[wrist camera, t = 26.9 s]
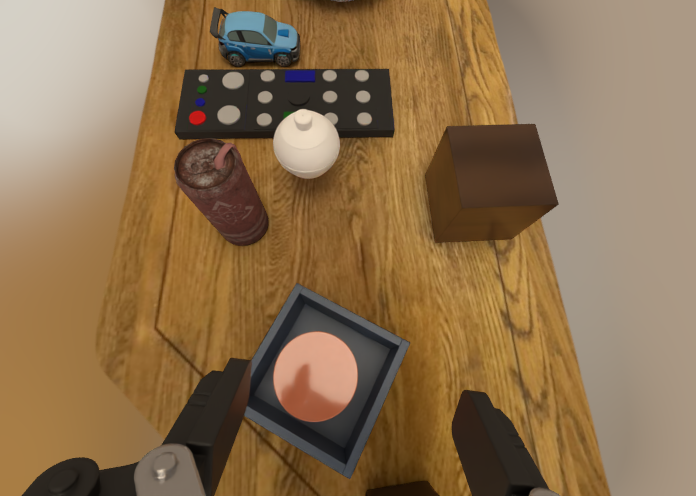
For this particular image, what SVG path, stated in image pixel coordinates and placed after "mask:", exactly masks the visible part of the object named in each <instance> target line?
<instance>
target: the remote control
mask: <svg viewBox="0 0 696 496" xmlns="http://www.w3.org/2000/svg"><path fill="white" fill-rule="evenodd" d="M300 109H306V110H309V111H313V112H316V113H319V114H321V115H323V116H324V117H326V118H327V119H328V120H329V121H330V122H331V123H332V124H333V125H334V127H335V128H336V130H337V133H338V136H339V137H393V135H394V130H395V129H394V118H393V108H392V97H391V86H390V76H389V69H249V70H185V73H184V79H183V85H182V91H181V97H180V103H179V109H178V115H177V120H176V126H175V134H176V135H177V136H178V138H179V139H208V138H213V139H230V138H274V134H275V132H276V129H277V127H278V126H279V124H280V123H281V122H282V121H283V120H284V119H285V118H286V117H287V116H289V115H290V114H292V113H294V112H296V111H298V110H300Z"/></svg>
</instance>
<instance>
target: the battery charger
mask: <svg viewBox="0 0 696 496" xmlns="http://www.w3.org/2000/svg"><path fill="white" fill-rule="evenodd" d="M366 496H439V495H438V494H437V493H436V491H435V490H434V489H433V487H432V486H431V485H430V483H429V482H428V481H422V482H415V483H409V484H402V485H396V486H390V487H384V488H378V489H372V490H368V491H367V492H366Z"/></svg>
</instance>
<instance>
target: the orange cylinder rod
mask: <svg viewBox="0 0 696 496" xmlns="http://www.w3.org/2000/svg"><path fill="white" fill-rule="evenodd" d="M357 383H358V367H357V363H356V359H355V357H354V355H353V353H352V351H351V349H350V348H349V347H348V345H347V344H346V343H345V342H344V341H342V340H341V339H340V338H338V337H337V336H335V335H333V334H330V333H327V332H322V331H312V332H307V333H304V334H301V335H299V336H297V337H295V338H294V339H292V340H291V341H290V342H289V343H288V344H286V346H285V347H284V348H283V349H282V351H281V352H280V354H279V356H278V358H277V360H276V363H275V366H274V371H273V385H274V390H275V393H276V396H277V398H278V400H279V402H280V404H281V405H282V406H283V408H284V409H285V410H286V411H287V412H288V413H290V414H291V415H292V416H294V417H296V418H298V419H300V420H303V421H308V422H321V421H325V420H329V419H331V418H333V417H335V416H336V415H338V414H339V413H341V412H342V411H343V410H344V409H345V408H346V407H347V406H348V404H349V403H350V402H351V400H352V398H353V396H354V394H355V391H356V388H357Z"/></svg>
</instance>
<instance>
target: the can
mask: <svg viewBox="0 0 696 496" xmlns="http://www.w3.org/2000/svg"><path fill="white" fill-rule="evenodd" d="M174 170H175V178H176V182H177V184H178V186H179V187H180V188H181V189H182V191H183V192H184V193H185V194H186V195H187V196H188V197H189V199H190V200H191V201H192V202H193V203H194V204H195V205H196V206H197V208H198V209H199V210H200V211H201V212H202V213H203V214H204V215H205V217H206V218H207V219H208V220H209V221H210V222H211V223H212V224H213V226H214V227H215V228H216V229H217V230H218V231H219V232H220V233H221V235H222V236H223V237H224V238H225V239H226V240H227V241H229V242H230V243H232V244H235V245H239V246H242V245H249V244H252V243H255V242H256V241H258V240H259V239H261V238H262V236H263V235H264V234H265V233H266V230H267V228H268V216H267V213H266V211H265V209H264V206H263V204H262V202H261V200H260V198H259V196H258V194H257V191H256V189H255V187H254V185H253V183H252V181H251V179H250V177H249V174H248V172H247V170H246V168H245V166H244V164H243V162H242V159H241V155H240V153H239V151H238V150H237V148H236V146H235V145H234V144H232V143H224V142H223V141H221V140H217V139H213V138H208V139H200V140H197V141H193V142H192V143H190V144H188V145H187V146H185V147H184V148H183V149H182V150H181V151H180V152H179V154H178V156H177V158H176V160H175V166H174Z"/></svg>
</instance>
